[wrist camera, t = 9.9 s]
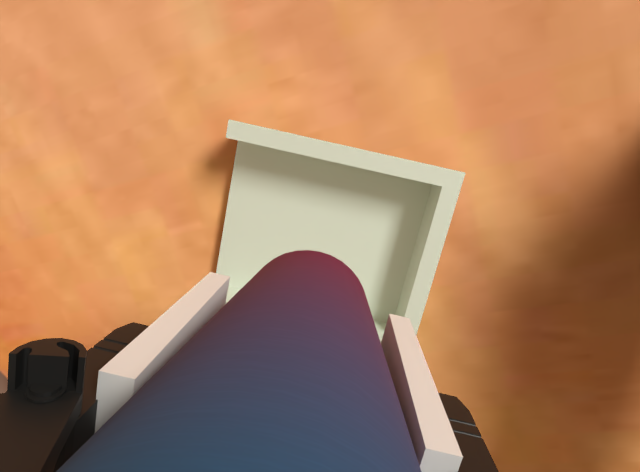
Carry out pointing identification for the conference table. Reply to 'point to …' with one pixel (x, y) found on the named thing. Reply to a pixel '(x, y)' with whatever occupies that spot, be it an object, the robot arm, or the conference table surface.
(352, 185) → the open sided tray
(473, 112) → the conference table surface
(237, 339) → the cup
